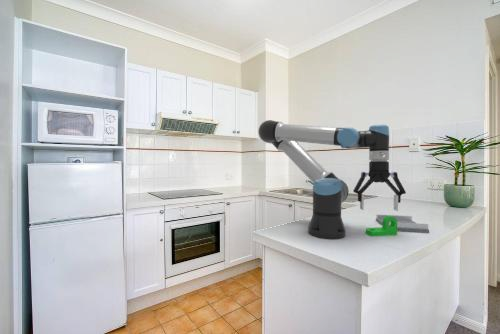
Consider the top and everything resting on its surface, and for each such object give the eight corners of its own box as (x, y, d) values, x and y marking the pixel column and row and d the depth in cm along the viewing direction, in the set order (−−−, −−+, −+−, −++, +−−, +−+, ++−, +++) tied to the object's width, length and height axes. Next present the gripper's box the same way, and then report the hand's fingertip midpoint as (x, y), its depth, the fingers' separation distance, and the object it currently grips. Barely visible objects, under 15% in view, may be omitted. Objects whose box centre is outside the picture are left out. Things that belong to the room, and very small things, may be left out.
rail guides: (388, 227, 107) (388, 222, 106) (376, 218, 123) (376, 214, 123) (428, 229, 103) (428, 224, 103) (410, 219, 119) (410, 216, 119)
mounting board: (388, 230, 106) (388, 227, 106) (375, 220, 123) (375, 217, 123) (429, 233, 103) (429, 229, 103) (409, 222, 120) (409, 219, 120)
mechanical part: (386, 231, 106) (386, 213, 106) (397, 235, 100) (397, 216, 100) (362, 232, 104) (363, 214, 103) (372, 237, 98) (372, 217, 98)
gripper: (350, 161, 101) (350, 210, 101) (415, 160, 96) (414, 212, 96) (346, 161, 108) (346, 207, 109) (406, 160, 103) (406, 208, 104)
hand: (378, 209), depth 103 cm, fingers open, 13 cm apart
